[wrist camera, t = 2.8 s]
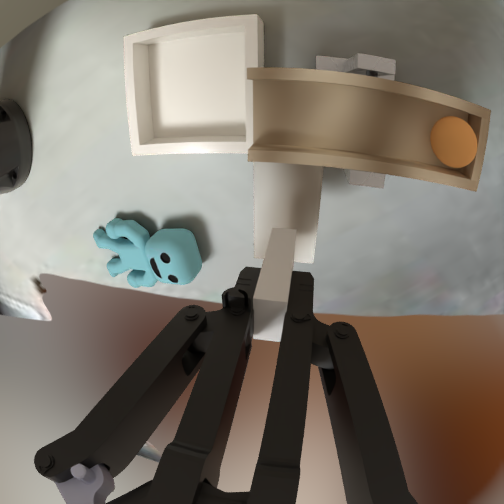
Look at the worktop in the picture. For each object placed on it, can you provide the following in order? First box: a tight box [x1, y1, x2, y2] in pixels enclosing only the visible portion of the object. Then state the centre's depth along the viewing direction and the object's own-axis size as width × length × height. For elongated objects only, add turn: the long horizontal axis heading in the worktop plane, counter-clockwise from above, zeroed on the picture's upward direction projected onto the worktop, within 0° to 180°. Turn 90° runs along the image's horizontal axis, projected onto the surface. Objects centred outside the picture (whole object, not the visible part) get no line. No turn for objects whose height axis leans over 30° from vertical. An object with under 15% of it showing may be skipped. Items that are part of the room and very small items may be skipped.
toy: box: [93, 218, 202, 288], centre depth 33 cm, size 10×5×15 cm
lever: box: [247, 67, 491, 264], centre depth 17 cm, size 15×14×3 cm
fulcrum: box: [316, 53, 396, 188], centre depth 18 cm, size 11×10×8 cm
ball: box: [430, 116, 477, 168], centre depth 13 cm, size 3×3×3 cm
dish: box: [123, 14, 264, 156], centre depth 22 cm, size 12×12×4 cm
